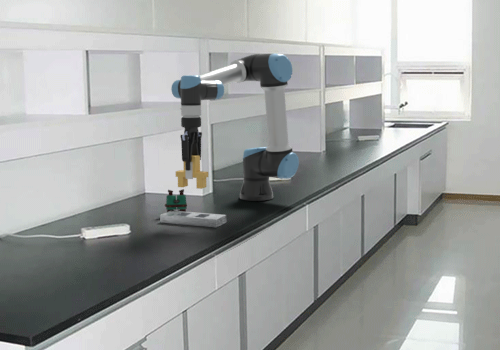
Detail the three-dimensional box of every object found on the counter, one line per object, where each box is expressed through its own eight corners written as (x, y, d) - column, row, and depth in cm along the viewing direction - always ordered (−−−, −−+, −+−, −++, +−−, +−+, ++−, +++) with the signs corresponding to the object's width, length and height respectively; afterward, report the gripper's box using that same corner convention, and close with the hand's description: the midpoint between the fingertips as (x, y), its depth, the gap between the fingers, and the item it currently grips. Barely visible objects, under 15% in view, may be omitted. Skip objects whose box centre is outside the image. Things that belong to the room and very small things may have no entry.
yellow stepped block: (175, 186, 275) (175, 155, 273) (180, 185, 278) (180, 154, 276) (203, 188, 270) (203, 157, 268) (208, 187, 274) (208, 156, 272)
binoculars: (185, 187, 297) (187, 189, 287) (186, 213, 298) (188, 215, 288) (164, 188, 296) (164, 190, 286) (164, 213, 296) (165, 216, 287)
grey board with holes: (171, 217, 285) (171, 210, 285) (226, 222, 276) (226, 214, 275) (160, 222, 277) (160, 214, 276) (216, 227, 268) (216, 219, 267)
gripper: (192, 114, 279) (193, 174, 283) (171, 117, 264) (172, 180, 267) (209, 115, 276) (210, 175, 280) (189, 118, 261) (190, 181, 264)
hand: (192, 177), depth 274 cm, fingers closed on yellow stepped block, 4 cm apart
